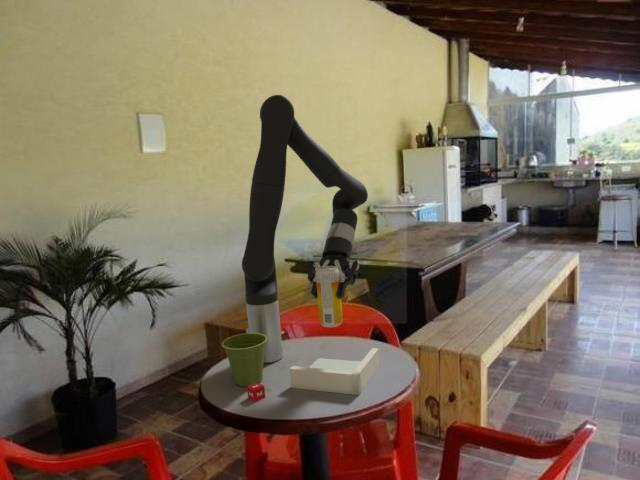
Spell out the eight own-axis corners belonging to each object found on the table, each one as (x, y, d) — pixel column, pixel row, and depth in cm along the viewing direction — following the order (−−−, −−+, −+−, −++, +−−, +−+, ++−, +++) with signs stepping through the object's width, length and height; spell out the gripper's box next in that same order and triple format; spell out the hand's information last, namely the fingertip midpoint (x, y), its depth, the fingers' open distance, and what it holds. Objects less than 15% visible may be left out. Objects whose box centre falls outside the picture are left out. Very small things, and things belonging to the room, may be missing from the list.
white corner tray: (291, 387, 127) (289, 368, 126) (318, 360, 143) (317, 344, 142) (359, 395, 120) (357, 375, 119) (379, 366, 136) (378, 348, 135)
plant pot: (221, 378, 135) (216, 338, 134) (263, 368, 140) (259, 330, 139) (232, 395, 125) (227, 352, 123) (277, 384, 129) (273, 342, 128)
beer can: (343, 320, 133) (339, 264, 131) (342, 327, 127) (337, 269, 125) (320, 321, 134) (316, 266, 132) (318, 328, 128) (313, 271, 126)
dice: (258, 394, 125) (257, 382, 124) (265, 397, 122) (264, 385, 122) (248, 398, 123) (246, 386, 122) (255, 401, 120) (254, 390, 120)
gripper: (310, 235, 137) (295, 289, 128) (360, 234, 132) (349, 290, 122) (319, 251, 143) (306, 303, 134) (368, 251, 137) (357, 305, 128)
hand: (326, 296), depth 128 cm, fingers closed on beer can, 6 cm apart
